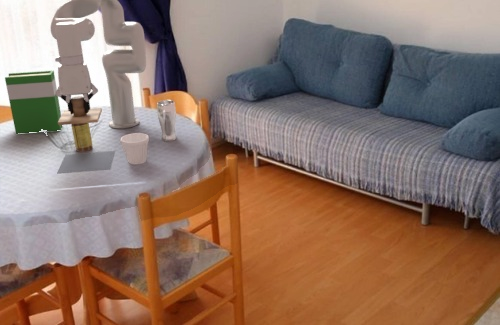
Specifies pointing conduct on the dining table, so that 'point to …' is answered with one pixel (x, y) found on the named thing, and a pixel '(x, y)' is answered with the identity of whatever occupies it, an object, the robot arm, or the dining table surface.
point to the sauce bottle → (82, 136)
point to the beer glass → (167, 119)
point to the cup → (135, 147)
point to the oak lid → (79, 113)
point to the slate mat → (86, 162)
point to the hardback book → (33, 101)
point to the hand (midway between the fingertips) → (79, 112)
